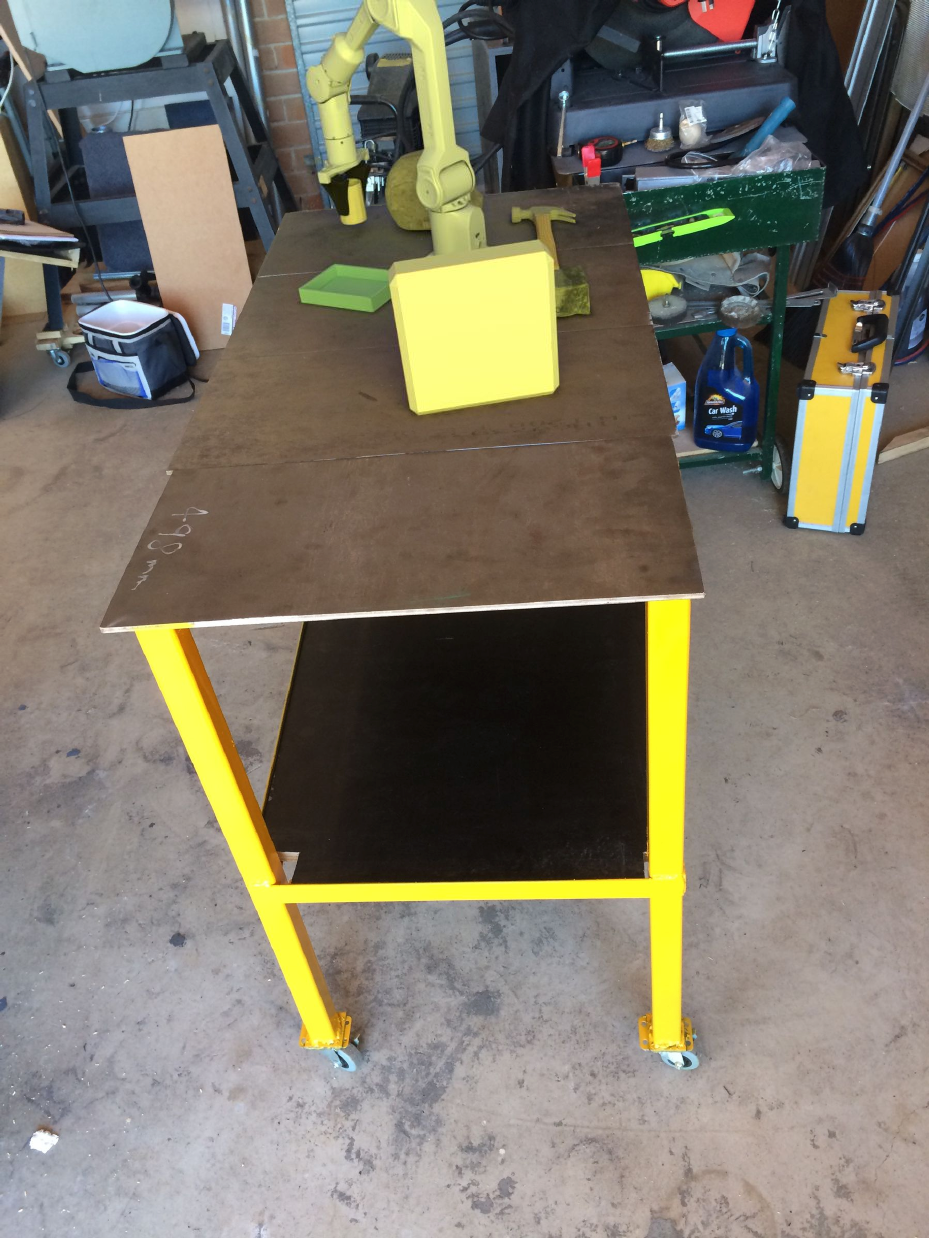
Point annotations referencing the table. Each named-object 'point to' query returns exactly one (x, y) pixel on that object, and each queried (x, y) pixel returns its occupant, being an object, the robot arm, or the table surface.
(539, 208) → the hammer
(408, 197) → the stone
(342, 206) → the robot arm
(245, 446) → the table surface
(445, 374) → the yellow beveled square tile
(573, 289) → the stone block
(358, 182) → the cup
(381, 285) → the tray
